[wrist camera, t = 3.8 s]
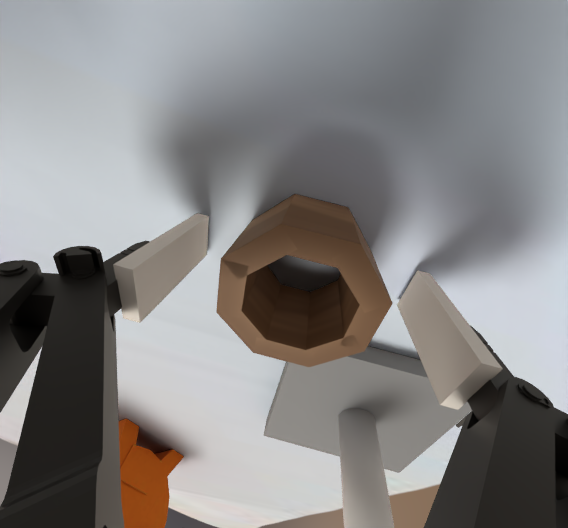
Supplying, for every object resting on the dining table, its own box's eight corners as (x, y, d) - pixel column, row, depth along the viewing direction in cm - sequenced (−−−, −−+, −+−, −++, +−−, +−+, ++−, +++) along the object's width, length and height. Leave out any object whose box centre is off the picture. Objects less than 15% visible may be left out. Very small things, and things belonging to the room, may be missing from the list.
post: (297, 327, 18) (276, 492, 10) (478, 375, 18) (613, 586, 9) (266, 419, 25) (239, 560, 17) (395, 454, 25) (431, 615, 16)
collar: (257, 184, 13) (225, 209, 9) (386, 216, 13) (418, 259, 9) (241, 288, 17) (213, 342, 12) (342, 314, 17) (348, 378, 12)
